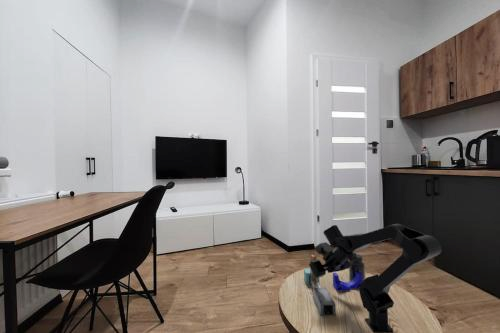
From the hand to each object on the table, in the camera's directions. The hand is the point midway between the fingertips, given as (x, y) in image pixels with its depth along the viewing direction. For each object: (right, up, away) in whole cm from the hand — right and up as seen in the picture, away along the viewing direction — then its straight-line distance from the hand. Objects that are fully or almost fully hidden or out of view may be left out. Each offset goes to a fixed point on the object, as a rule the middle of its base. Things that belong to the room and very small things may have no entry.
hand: (320, 274), depth 106 cm
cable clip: (+13, -7, +2) cm, 15 cm away
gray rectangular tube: (-2, -7, -12) cm, 14 cm away
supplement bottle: (+19, -7, +8) cm, 22 cm away
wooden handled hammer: (-2, -7, 0) cm, 7 cm away
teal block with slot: (-2, -7, +9) cm, 11 cm away
